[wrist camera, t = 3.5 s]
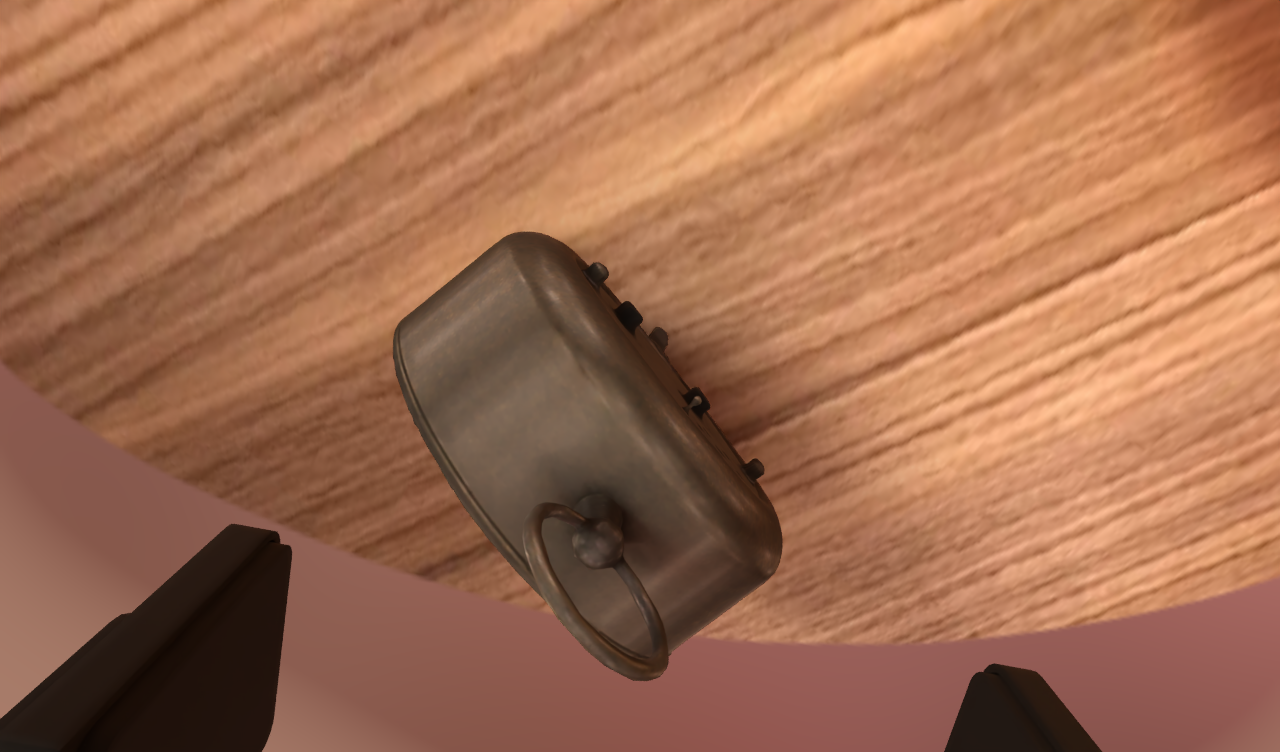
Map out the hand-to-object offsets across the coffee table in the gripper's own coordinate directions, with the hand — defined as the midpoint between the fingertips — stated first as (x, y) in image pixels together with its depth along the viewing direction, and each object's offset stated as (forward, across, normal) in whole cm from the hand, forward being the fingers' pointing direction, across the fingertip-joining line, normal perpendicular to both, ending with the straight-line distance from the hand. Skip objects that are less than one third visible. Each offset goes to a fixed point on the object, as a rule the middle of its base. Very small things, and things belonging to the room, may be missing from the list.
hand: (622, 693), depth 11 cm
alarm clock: (+17, +1, 0) cm, 17 cm away
